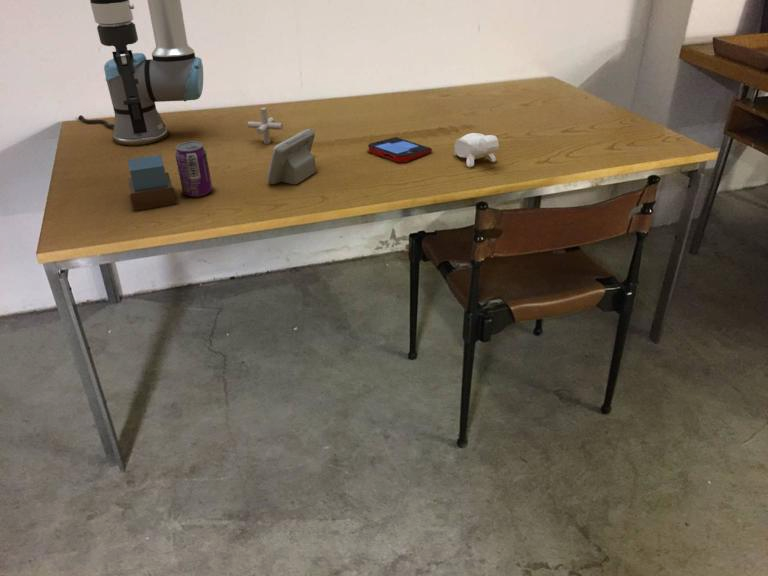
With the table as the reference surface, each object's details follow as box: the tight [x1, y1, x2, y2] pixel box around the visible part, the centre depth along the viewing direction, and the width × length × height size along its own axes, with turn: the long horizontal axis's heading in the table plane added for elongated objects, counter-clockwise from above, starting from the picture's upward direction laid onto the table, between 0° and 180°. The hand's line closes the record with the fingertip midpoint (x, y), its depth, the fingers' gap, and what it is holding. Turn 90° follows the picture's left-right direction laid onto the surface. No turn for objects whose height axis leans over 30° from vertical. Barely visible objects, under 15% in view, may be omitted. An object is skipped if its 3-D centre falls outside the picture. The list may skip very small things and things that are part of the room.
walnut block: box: [127, 171, 177, 212], centre depth 152 cm, size 10×10×4 cm
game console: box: [367, 136, 433, 163], centre depth 177 cm, size 14×13×2 cm
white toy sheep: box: [453, 132, 500, 168], centre depth 169 cm, size 9×8×15 cm
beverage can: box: [174, 140, 213, 198], centre depth 153 cm, size 7×7×12 cm
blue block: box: [127, 154, 168, 191], centre depth 150 cm, size 8×8×5 cm
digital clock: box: [266, 128, 317, 186], centre depth 161 cm, size 16×9×11 cm, turn 140°
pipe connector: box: [247, 107, 284, 145], centre depth 183 cm, size 10×10×10 cm
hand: (138, 123), depth 144 cm, fingers open, 13 cm apart
